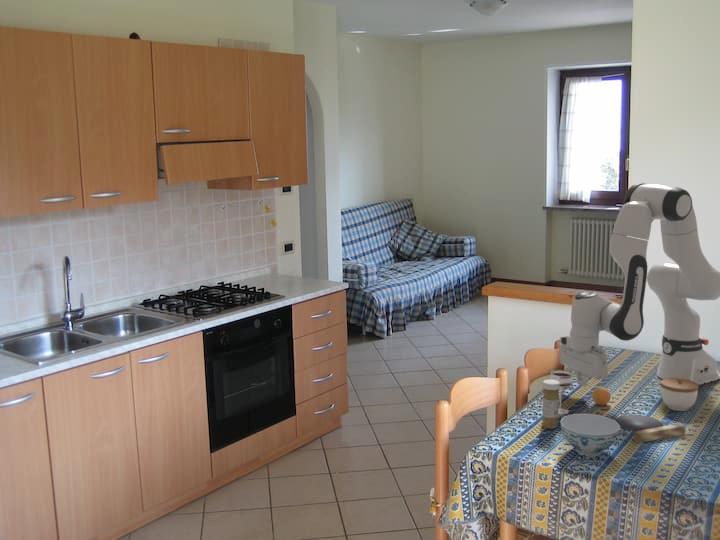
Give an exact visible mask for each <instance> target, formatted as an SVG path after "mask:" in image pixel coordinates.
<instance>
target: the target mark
mask: <svg viewBox="0 0 720 540" xmlns="http://www.w3.org/2000/svg"><path fill="white" fill-rule="evenodd" d="M614 421H616V422H617V423H618V424H619V425H620V428H623V429H626V430H630V431H634V432H635V431H640V430H646V429H651V428H657V427H663V426H664V424H663V422H661V421H660V420H659V419H657V418H654V417H650V416H646V415H641V414H623V415H620V416H617V417H616V418H615V419H614Z"/></svg>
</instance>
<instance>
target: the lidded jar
mask: <svg viewBox="0 0 720 540" xmlns="http://www.w3.org/2000/svg"><path fill="white" fill-rule="evenodd" d="M659 384H660V397H661V400H662V401H663V403H664V404H665V405H666V406H667V408H668V409H669V408H670V409H669V410H673V411H676V412H686V411H689V409H690V408H692V406H694V404H695V403H696V400H697V399H698V394H699V387H700V385H698V384H697V383H696V382H693V381H691V380H687V379H682V378H667V379H661V380H660V383H659Z"/></svg>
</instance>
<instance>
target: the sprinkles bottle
mask: <svg viewBox="0 0 720 540" xmlns="http://www.w3.org/2000/svg"><path fill="white" fill-rule="evenodd" d="M559 385H560V384H559V381H557V380H551V379H550V378H549V379H545V380H543V381H542V388H543V394H542V423H541V426H543V427H544V428H546V429H556V428H558V427H559V424H558V421H559V420H558V419H559V414H558V408H560V391H559Z"/></svg>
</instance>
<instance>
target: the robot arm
mask: <svg viewBox="0 0 720 540" xmlns="http://www.w3.org/2000/svg"><path fill="white" fill-rule="evenodd" d="M623 197H624V199H623V205H622V207H621V208H620V210H619V213H618V215H617V217H616V220H615V223H614V224H613V225H614V227H613V229H612V233H611V238H610V242H609V254H610V256H611V257H612V259H613V261H614V262H615V263H616V264H617V265H618V266H619V267H620V269H621V271H622V273H623V275H624V284H623V286H624V287H623V293H622V300H621V304H620V303H619V302H616V301H612V300H609V299H607V298H605V297H603V296H601V295H600V294H599V293H598V292H595V291H584V292H580V293H579V292H578V293H577V294H576V295H575V296H574V298H573V300H572V304H571V310H570V311H571V312H570V322H571V328H570V331H569V335H564V336H560V337H559V343H560V346H559V351H558V352H559V353H558V360H559V362H560V364H561V365H563V366H566V367H567V368H570V369H572V370H574V374H575V378H576V384H577V385H578V386H581V387H587V386H588V381H589V379H590V377H591V378H593V379H595V380H605V379H607V377H608V376H609V374H608V373H609V372H608V371H609V369H608V357H607V354H606V353H605V352H604V350H603V349H600V348H599V346H600V345H599V342H600V333H601V332H603V331H604V332H607V333H608V334H611V335H613V336H614V337H616V338H618V339H619V340H620V341H623V342H625V341H626V342H628V341H631V340H633V339H636V338H637V337H638V336H639V335H640V334H641V332H642V330H643V327H644V325H645V323H644V321H645V320H644V318H645V317H644V312H643V311H644V310H643V309H644V300H645V299H644V298H645V294H646V286H647V285H648V287H649V289H650V290H651V291H653V293H654V294H655V295H656V296H657V299H659V302H660V304H661V307H662V310H663V315H664V317H663V318H664V319H663V320H664V324H663V325H664V329H663V335H662V338H661V339H662V340H661V347H662V349H661V355H660V359H659V365H658V367H657V372H656V376H657V377H658V378H660V379H661V380H663V379H667V378H682V379H687V380H691V381H693V382H696V383H697V384H698V386H701V385H704V383H705V384H707V383H712V382H715V381H718V379H719V380H720V371H719V370H718V363H717V360H716V358H715V357H713V356H712V355H711V354H710V353H708V352H707V350H705V349H704V348H703V345H705V346H708V345H709V339H707V338H705V337H703V338H700V330H701V329H700V328H701V317H700V315H699V313H698V312H697V311H696V310H695V309H694V308H692V306H691V305H690V303H689V302H688V299H691V300H696V301H716V300H717V299H719V298H720V271H719V270H717V269H716V268H714V267H713V265H711V263H710V262H709V261H708V259H707V257H706V256H705V255H704V252H703V251H702V248H701V244H700V237H699V231H698V223H697V216H696V212H695V209H694V206H693V198H692V197H691V195H690V192H688V190H686V189H684V188H681V187H678V186H676V187H675V186H671V185H666V184H656V183H655V184H651V183H649V184H648V183H647V184H646V183H642V182H641V183H637V184H636V183H635V184H633V185H631V186H630V187H629V188H628V189H627V190H626V192H625V195H624V196H623ZM655 220H660V234H661V241H662V249H663V250H662V251H663V252H664V254H665V255H666V257H668V258H669V259H670V260H672V261H673V262H674V263H672V262H663V263H656V264H653V265H652V266H651V267H650V269H649V270H648V262H647V261H648V260H647V249H648V245H649V240H650V235H651V232H652V231H651V229H652V223H653V222H654V221H655ZM711 381H712V382H711Z"/></svg>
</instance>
